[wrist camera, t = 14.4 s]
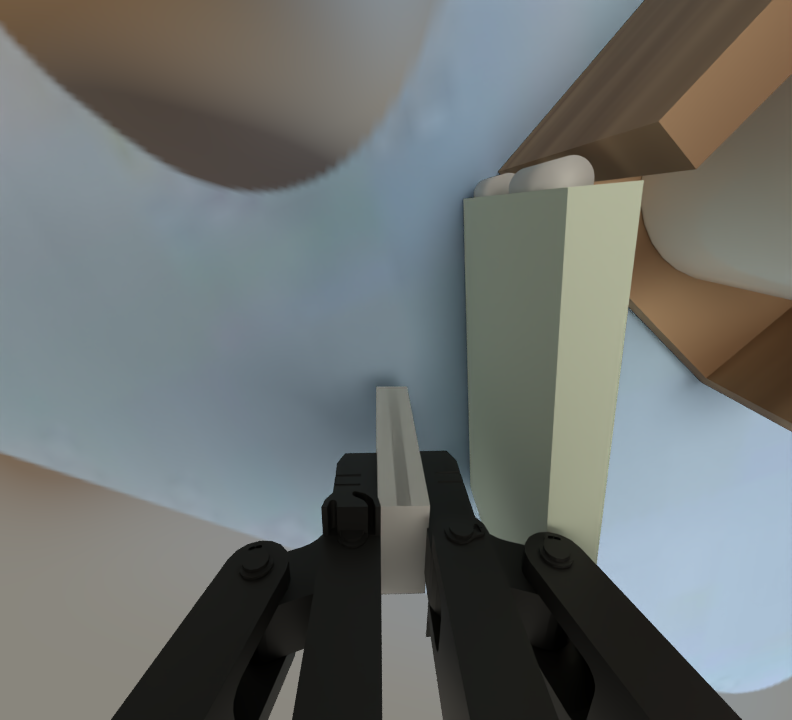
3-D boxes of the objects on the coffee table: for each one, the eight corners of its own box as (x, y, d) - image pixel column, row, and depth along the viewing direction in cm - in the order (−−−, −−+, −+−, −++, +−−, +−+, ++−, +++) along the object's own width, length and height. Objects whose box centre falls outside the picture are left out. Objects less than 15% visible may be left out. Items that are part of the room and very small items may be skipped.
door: (429, 185, 14) (492, 155, 6) (496, 179, 14) (649, 140, 6) (445, 488, 19) (492, 701, 11) (495, 484, 19) (580, 693, 11)
